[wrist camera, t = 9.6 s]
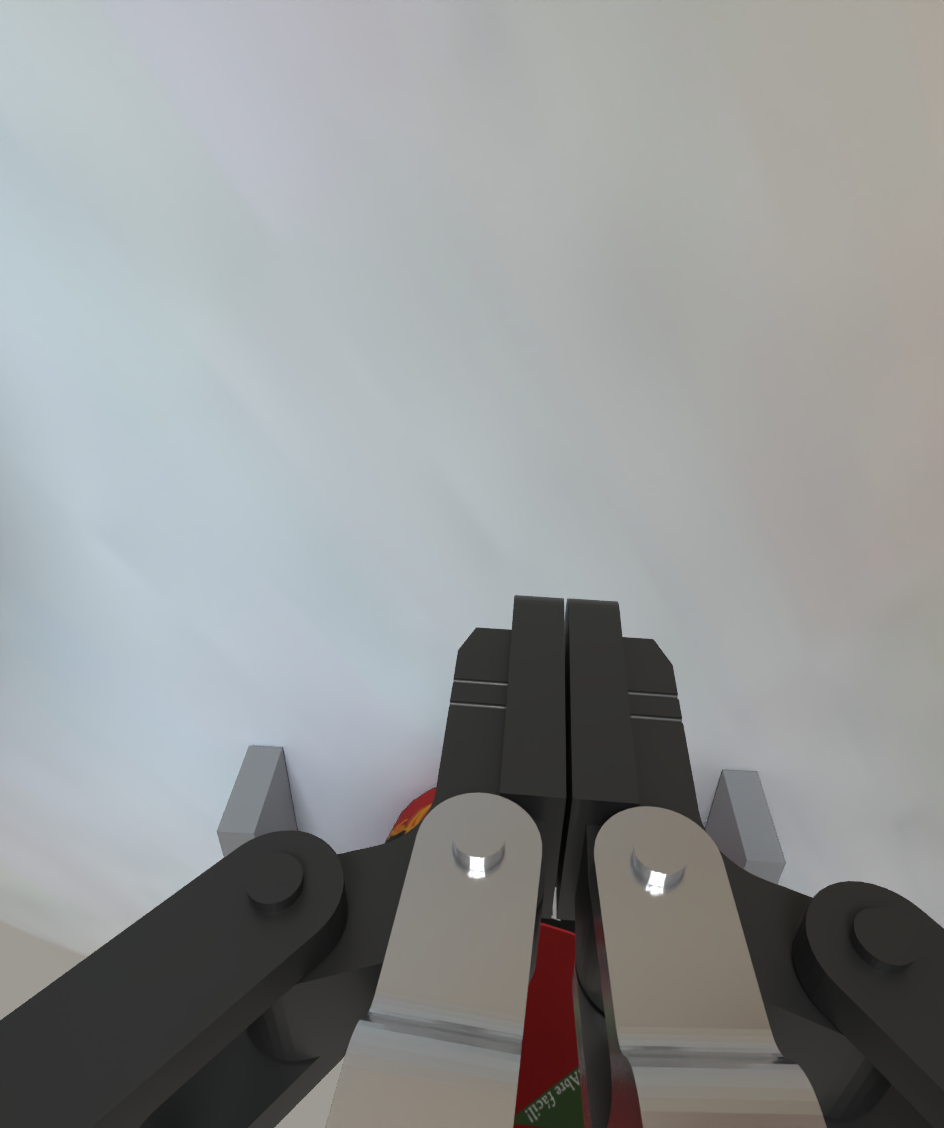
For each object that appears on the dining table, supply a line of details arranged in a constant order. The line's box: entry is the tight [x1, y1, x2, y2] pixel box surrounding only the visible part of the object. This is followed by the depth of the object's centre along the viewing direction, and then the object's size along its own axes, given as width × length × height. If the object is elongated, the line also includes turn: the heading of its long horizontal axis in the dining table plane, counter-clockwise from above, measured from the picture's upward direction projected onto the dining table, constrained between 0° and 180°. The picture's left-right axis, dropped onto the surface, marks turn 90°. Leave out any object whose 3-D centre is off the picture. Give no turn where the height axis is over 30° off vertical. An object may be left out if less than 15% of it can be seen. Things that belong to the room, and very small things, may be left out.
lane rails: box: [217, 746, 786, 884], centre depth 25 cm, size 15×10×3 cm, turn 89°
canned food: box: [385, 787, 584, 1128], centre depth 21 cm, size 8×8×11 cm
